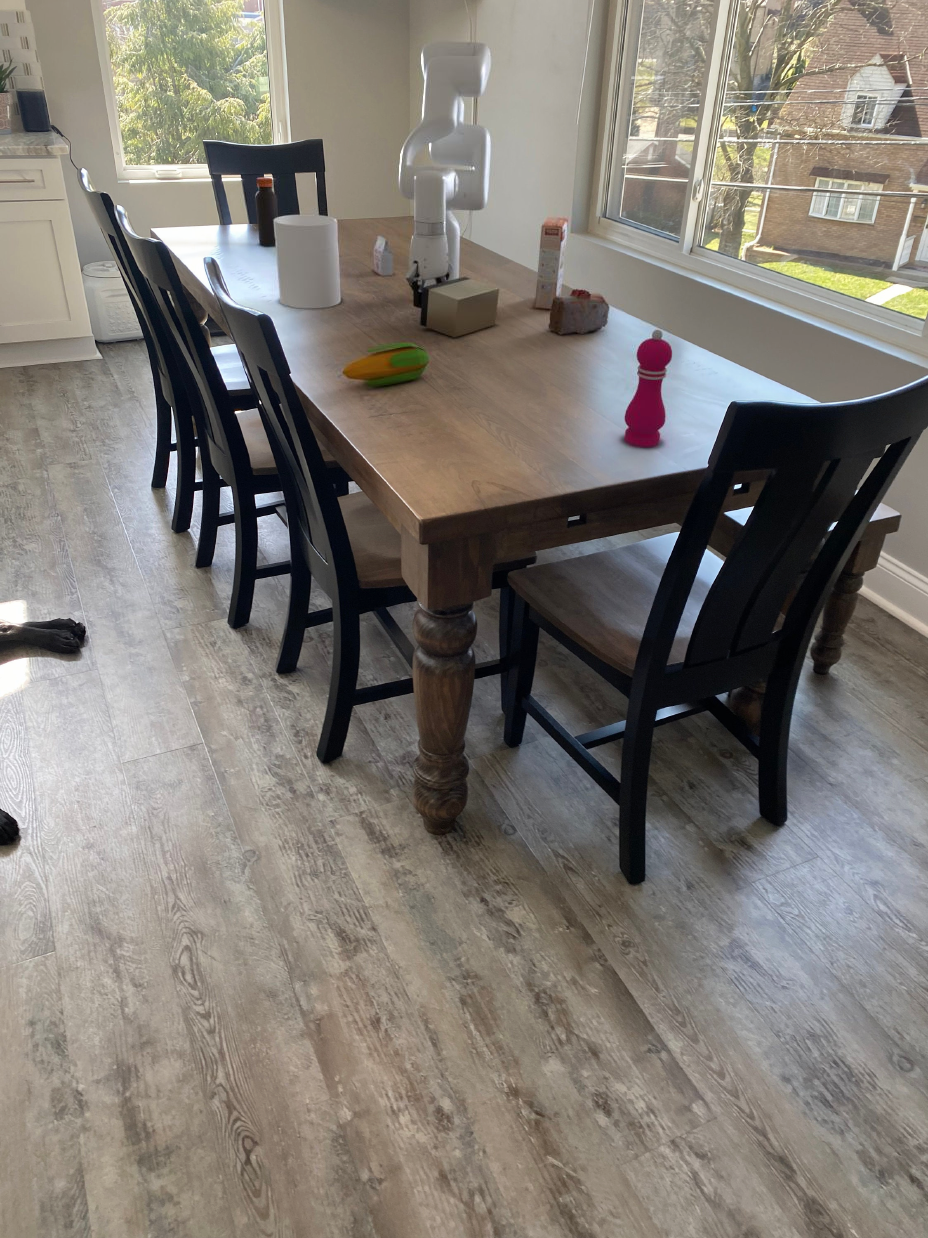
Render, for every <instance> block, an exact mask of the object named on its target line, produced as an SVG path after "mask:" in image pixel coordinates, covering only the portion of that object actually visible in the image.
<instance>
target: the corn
mask: <svg viewBox="0 0 928 1238" xmlns="http://www.w3.org/2000/svg"><path fill="white" fill-rule="evenodd" d="M373 352H374V353H373ZM366 353H371V354H368V355H365V356H362V357H359V358H357V359H355V360H353V361H351V362H350V363H348V364H346V365H345V367H344V368H343V370H341V372H342V374H343V376H345V377H346V378H347V379H349V380H358V381H359V380H360V381H364V383H362V386H364V387H383V386H391V385H394V384H400V383H405V382H410V381H415V380H416V379H417V378H418V377H420V376H421V375H422V374H423V372H425V370H426V368H427V366H428V363H429V361H430V358H429V354H428V352H427V351H426V350H425V349H424V348H422V347H420V346H418V345H417V344H415V343H413V342H401V341H400V342H395V343H389V344H385V345H380V346H374V347H372V348H369V349H366Z"/></svg>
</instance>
